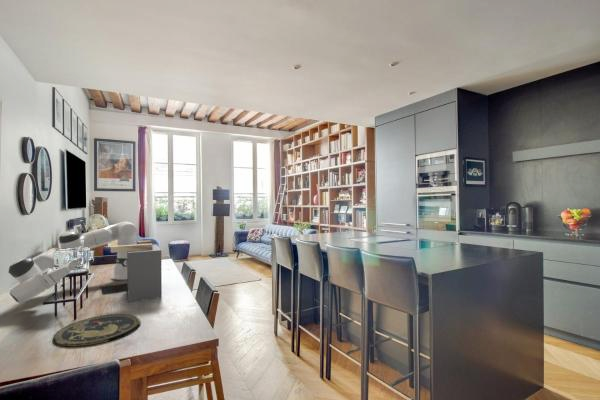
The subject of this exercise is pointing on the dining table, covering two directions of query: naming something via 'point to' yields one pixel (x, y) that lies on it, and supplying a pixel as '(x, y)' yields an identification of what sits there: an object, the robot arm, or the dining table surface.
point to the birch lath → (131, 248)
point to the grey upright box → (144, 274)
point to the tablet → (114, 289)
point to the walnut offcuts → (144, 242)
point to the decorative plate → (96, 330)
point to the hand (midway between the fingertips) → (80, 260)
